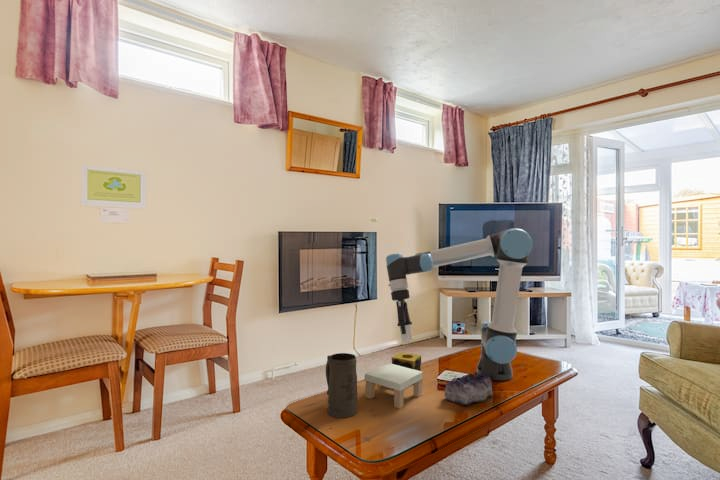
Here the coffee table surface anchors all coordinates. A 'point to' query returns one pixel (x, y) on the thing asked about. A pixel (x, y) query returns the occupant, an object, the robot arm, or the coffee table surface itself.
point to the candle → (407, 360)
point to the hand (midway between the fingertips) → (407, 341)
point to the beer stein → (341, 385)
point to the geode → (469, 389)
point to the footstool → (394, 381)
